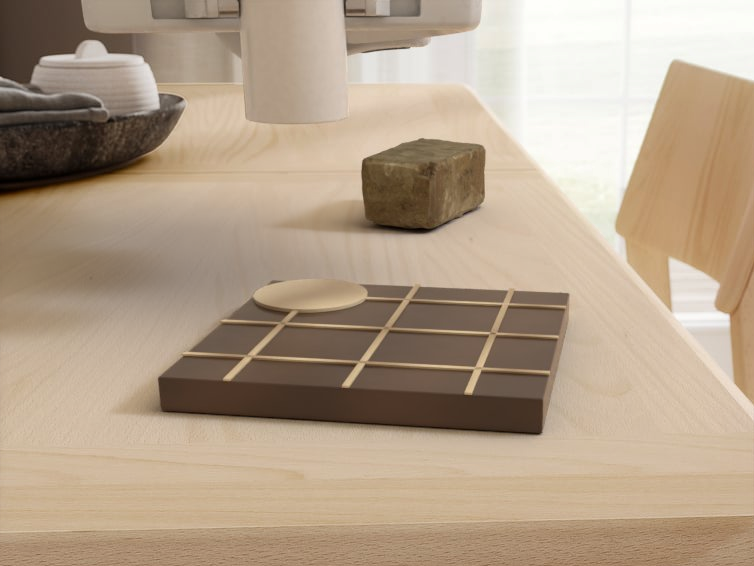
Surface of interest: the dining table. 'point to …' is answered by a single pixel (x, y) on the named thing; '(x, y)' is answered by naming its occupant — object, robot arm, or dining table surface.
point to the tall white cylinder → (294, 61)
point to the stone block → (423, 183)
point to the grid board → (378, 356)
